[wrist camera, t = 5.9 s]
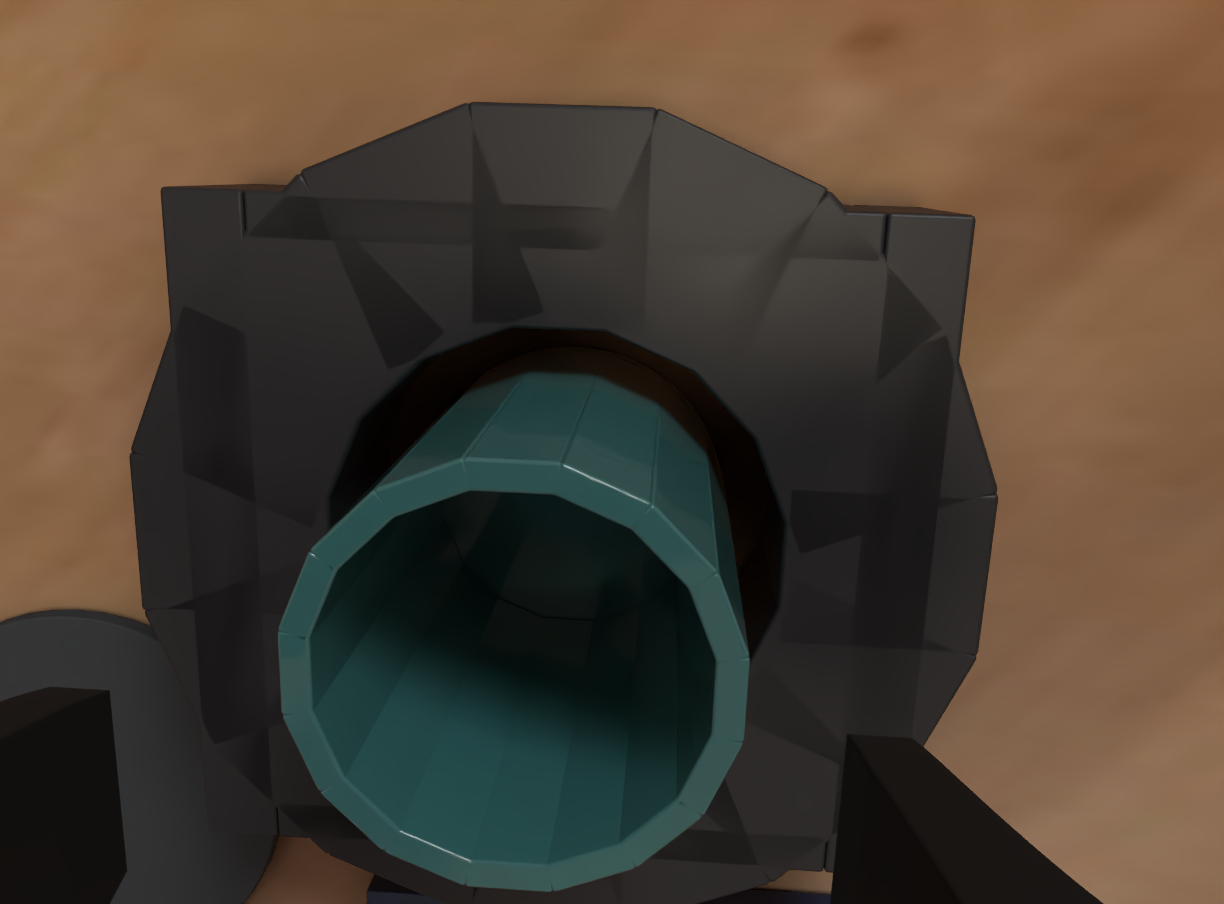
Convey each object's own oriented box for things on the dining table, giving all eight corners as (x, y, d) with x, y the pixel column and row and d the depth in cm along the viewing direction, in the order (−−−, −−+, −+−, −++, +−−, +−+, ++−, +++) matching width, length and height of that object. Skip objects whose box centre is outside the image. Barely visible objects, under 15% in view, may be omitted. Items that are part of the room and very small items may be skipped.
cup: (430, 618, 21) (288, 876, 13) (427, 339, 20) (266, 448, 12) (712, 634, 21) (733, 906, 13) (730, 353, 19) (764, 471, 12)
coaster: (-60, 930, 24) (-72, 942, 23) (-111, 598, 22) (-125, 606, 21) (291, 955, 23) (284, 968, 23) (273, 619, 21) (265, 627, 21)
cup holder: (243, 786, 22) (165, 895, 19) (199, 104, 19) (95, 89, 16) (899, 828, 22) (940, 948, 18) (981, 129, 18) (1050, 119, 15)
